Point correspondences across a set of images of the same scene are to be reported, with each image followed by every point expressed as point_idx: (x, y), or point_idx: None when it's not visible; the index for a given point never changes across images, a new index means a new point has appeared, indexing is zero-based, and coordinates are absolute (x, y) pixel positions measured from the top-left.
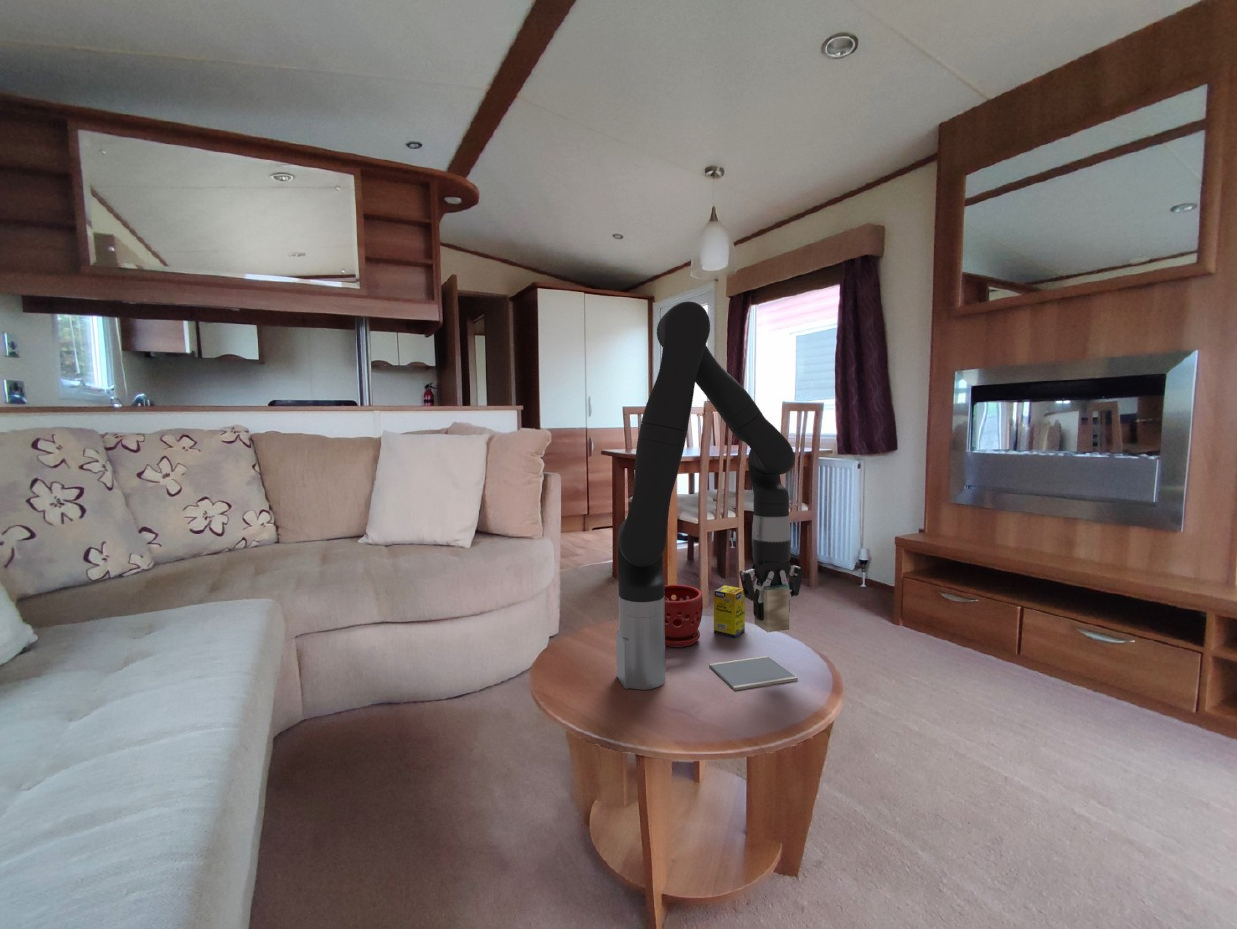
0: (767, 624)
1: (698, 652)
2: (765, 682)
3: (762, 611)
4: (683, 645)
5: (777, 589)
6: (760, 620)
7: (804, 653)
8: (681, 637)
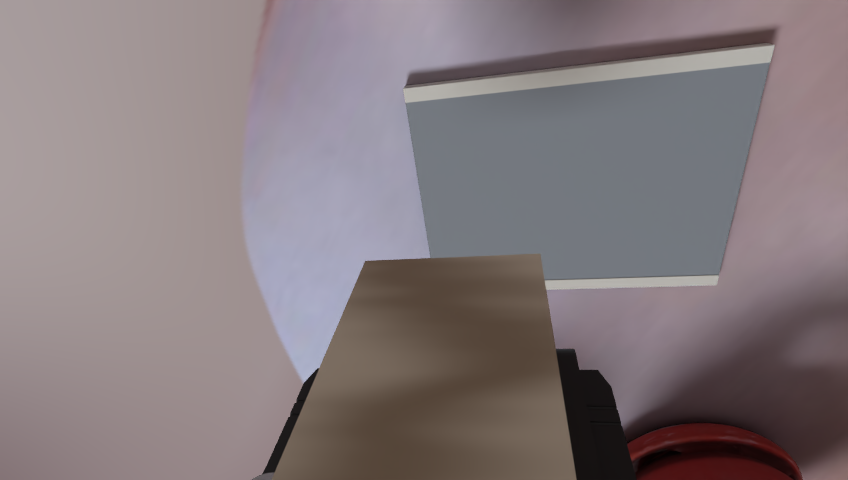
0: (545, 292)
1: (670, 380)
2: (579, 71)
3: (571, 407)
4: (713, 424)
5: None
6: (573, 349)
7: (283, 289)
8: (731, 456)
